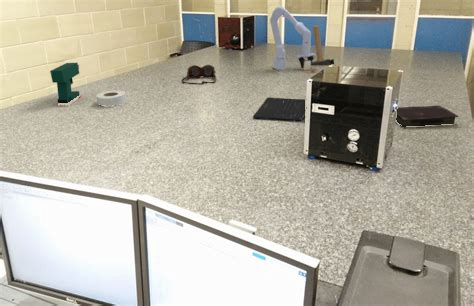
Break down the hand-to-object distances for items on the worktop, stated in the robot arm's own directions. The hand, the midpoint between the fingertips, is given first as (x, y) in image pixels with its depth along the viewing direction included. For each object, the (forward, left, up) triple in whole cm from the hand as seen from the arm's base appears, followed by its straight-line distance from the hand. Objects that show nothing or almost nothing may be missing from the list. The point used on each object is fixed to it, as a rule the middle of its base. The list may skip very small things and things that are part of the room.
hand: (305, 67), depth 288 cm
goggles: (-11, -77, -3) cm, 78 cm away
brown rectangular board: (+5, 0, -2) cm, 6 cm away
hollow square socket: (0, 0, -1) cm, 1 cm away
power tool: (-7, -157, -3) cm, 158 cm away
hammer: (-7, +17, -3) cm, 19 cm away
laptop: (+76, -54, -3) cm, 94 cm away
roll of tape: (+15, -138, -3) cm, 139 cm away
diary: (+116, -10, -3) cm, 117 cm away
